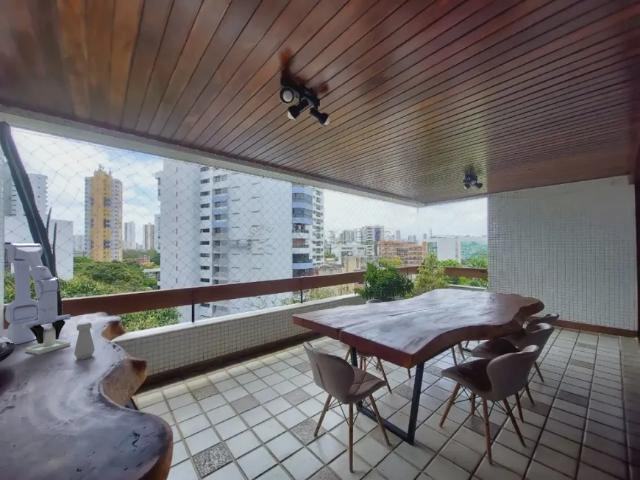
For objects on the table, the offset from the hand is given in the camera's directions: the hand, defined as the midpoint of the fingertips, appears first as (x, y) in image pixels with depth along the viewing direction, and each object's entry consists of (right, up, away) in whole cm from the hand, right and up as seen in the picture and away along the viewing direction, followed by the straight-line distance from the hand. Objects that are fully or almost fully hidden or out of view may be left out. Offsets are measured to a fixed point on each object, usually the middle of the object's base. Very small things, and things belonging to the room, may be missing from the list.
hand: (48, 341), depth 114 cm
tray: (0, -3, 0) cm, 3 cm away
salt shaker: (+24, -3, -10) cm, 26 cm away
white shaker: (0, -2, 0) cm, 2 cm away
